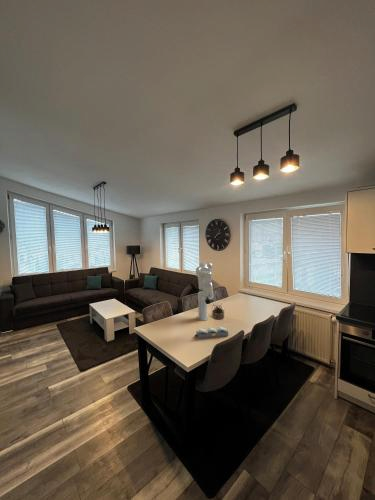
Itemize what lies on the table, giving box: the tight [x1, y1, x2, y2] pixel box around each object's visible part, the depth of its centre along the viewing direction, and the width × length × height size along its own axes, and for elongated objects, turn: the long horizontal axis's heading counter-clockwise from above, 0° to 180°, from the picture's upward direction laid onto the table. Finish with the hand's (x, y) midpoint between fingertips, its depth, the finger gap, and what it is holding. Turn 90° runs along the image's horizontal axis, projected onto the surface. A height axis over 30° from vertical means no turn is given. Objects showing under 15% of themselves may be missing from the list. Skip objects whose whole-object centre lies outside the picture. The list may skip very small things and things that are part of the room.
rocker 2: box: [207, 326, 217, 332], centre depth 190 cm, size 4×8×2 cm, turn 104°
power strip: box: [194, 328, 229, 340], centre depth 191 cm, size 7×31×5 cm, turn 104°
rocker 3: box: [216, 326, 228, 331], centre depth 192 cm, size 4×8×2 cm, turn 104°
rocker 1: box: [198, 327, 208, 333], centre depth 188 cm, size 4×8×2 cm, turn 105°
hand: (207, 303), depth 202 cm, fingers closed
